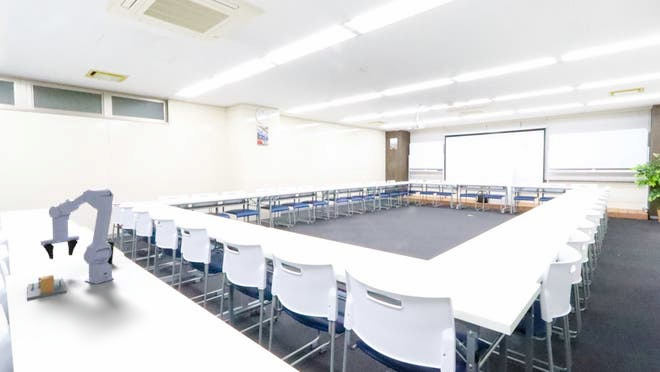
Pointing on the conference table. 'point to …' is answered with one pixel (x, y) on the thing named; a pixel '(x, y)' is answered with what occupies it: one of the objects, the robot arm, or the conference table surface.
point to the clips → (33, 284)
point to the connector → (47, 284)
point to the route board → (57, 290)
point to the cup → (111, 251)
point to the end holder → (40, 280)
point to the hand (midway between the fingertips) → (61, 256)
